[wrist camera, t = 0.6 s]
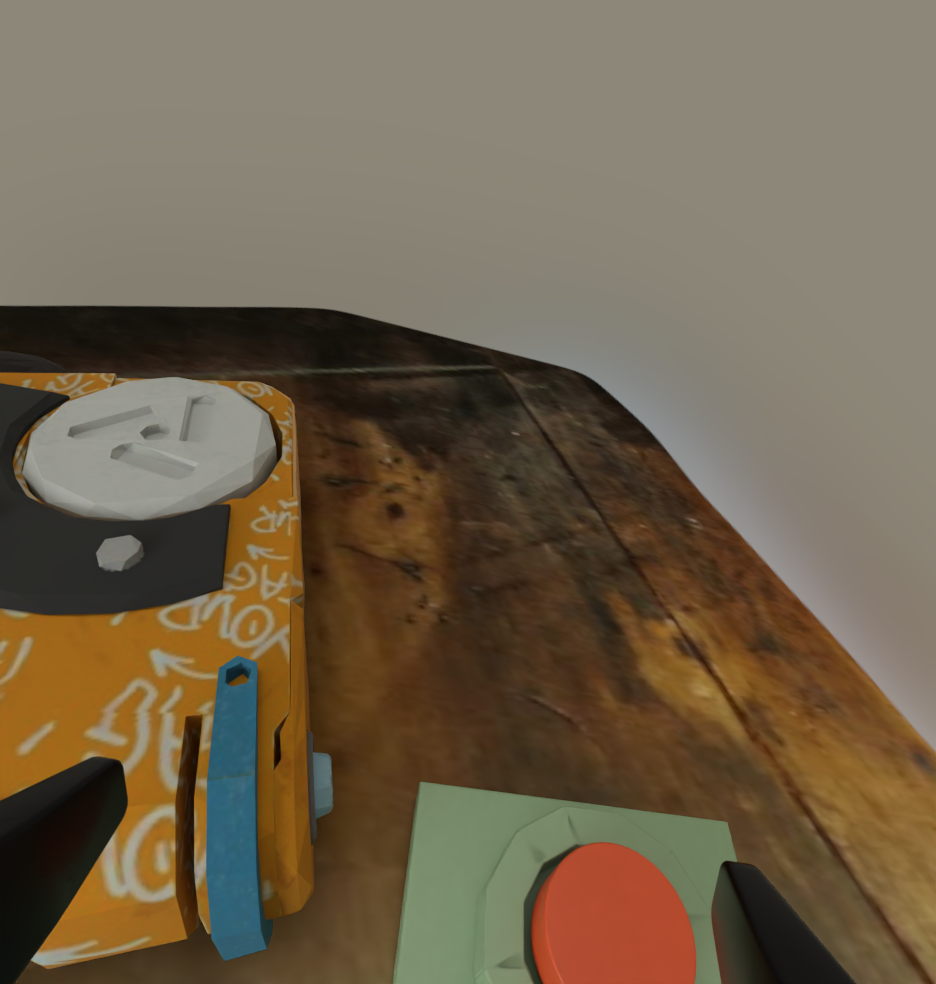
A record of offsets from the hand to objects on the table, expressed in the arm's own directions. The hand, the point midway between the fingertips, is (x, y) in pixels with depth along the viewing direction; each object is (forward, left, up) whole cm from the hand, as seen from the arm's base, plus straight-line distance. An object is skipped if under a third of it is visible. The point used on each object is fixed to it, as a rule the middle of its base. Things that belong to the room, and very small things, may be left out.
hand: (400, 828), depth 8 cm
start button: (+1, -7, -11) cm, 13 cm away
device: (+12, +16, -15) cm, 25 cm away
